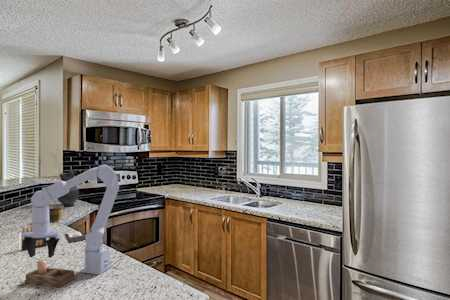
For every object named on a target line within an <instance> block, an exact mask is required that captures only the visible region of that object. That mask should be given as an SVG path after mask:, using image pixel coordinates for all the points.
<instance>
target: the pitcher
mask: <svg viewBox="0 0 450 300" xmlns="http://www.w3.org/2000/svg"><path fill="white" fill-rule="evenodd" d="M78 175H79V174H78V172H77V171H76V170H70V171H68V172H60V173H58V176H59V178H60V181H68V180H70V179H72V178H74V177H76V176H78ZM79 190H80V189H79V188H78V187H77V185H76V186H74V187H72V188H70V189H69V192H68V193H67V194H65V195H63V196H61V197H59V198H57V199H56V200H57V201H58V202H60V203H61V206H64V207H63V208H70V207H74V206H75V203H76V202H77V200H78V198H79V195H80V191H79Z"/></svg>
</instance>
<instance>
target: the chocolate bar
mask: <svg viewBox="0 0 450 300" xmlns="http://www.w3.org/2000/svg"><path fill="white" fill-rule="evenodd" d="M65 237H66V239H67V241H68V243H69V244H73V243H79V242H84V241H83V240H85V237H86V234H85V233H84V231H83V230H82V231H76V232H69V233H65ZM78 241H79V242H78ZM85 241H86V240H85ZM72 242H73V243H72Z"/></svg>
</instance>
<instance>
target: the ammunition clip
mask: <svg viewBox="0 0 450 300" xmlns="http://www.w3.org/2000/svg"><path fill="white" fill-rule="evenodd" d="M21 230H22V231H21V234H22V233H25V232H33V230H32V224H31V226H29V225H27V226H26V228H25V226H22V229H21ZM23 240H24V239H22V238H21V251H22V252H24V251H28V250H27V248H26V247H25V245H24V244H23V243H22V241H23ZM46 241H47V238H37V240H36V246H35V249H38V248H43V247H44V248H45V247H48V246H47V243H46Z"/></svg>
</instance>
